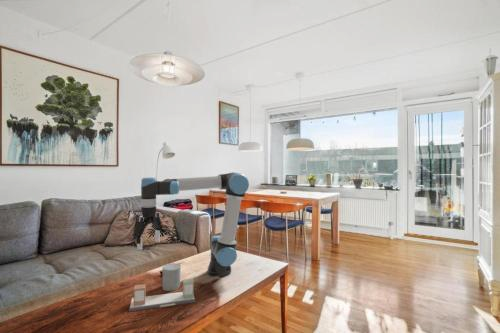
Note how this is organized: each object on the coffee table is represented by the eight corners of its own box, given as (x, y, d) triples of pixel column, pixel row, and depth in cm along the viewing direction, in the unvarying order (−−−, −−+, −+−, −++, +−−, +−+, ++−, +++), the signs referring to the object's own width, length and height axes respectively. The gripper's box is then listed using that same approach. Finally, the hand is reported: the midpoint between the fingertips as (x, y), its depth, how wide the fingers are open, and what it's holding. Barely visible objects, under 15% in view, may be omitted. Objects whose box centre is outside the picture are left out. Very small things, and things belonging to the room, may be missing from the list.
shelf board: (192, 292, 140) (192, 288, 140) (195, 304, 129) (195, 299, 129) (132, 300, 131) (132, 295, 131) (128, 314, 120) (128, 308, 119)
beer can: (175, 294, 138) (175, 271, 138) (158, 291, 140) (159, 269, 140) (183, 285, 148) (183, 264, 147) (167, 283, 149) (168, 262, 149)
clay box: (145, 300, 129) (145, 284, 129) (144, 304, 126) (145, 288, 125) (134, 301, 128) (134, 285, 128) (133, 305, 124) (133, 289, 124)
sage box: (192, 293, 137) (192, 278, 136) (193, 297, 133) (193, 282, 132) (182, 295, 135) (183, 279, 135) (183, 299, 131) (183, 283, 131)
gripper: (158, 202, 153) (158, 238, 154) (125, 209, 130) (125, 252, 130) (169, 203, 151) (169, 239, 151) (137, 211, 127) (137, 254, 128)
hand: (148, 245), depth 141 cm, fingers open, 13 cm apart
